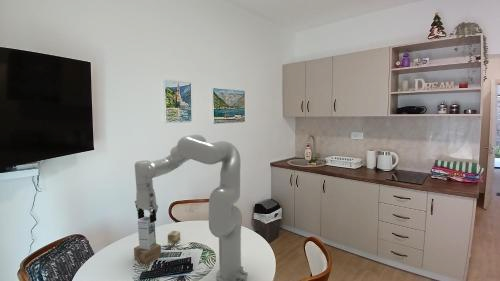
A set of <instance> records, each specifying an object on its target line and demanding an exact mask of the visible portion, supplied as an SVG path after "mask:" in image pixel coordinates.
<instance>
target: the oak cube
mask: <svg viewBox="0 0 500 281" xmlns="http://www.w3.org/2000/svg"><path fill="white" fill-rule="evenodd" d="M180 241H181V231H178V230H177V231H176V230H171V231H170V232H169V233H168V234H167V244H173V245H177V243H178V242H180Z"/></svg>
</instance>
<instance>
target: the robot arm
mask: <svg viewBox="0 0 500 281" xmlns="http://www.w3.org/2000/svg"><path fill="white" fill-rule="evenodd" d="M169 152H170V154H169V155H168V156H166V157H164V158H161V159H156V160H152V161H150V160H138V161H135V163H134V172H135V173H134V177H135V187H136V198H135V201H134V204H135V207H136V211H137V219H138V220H140V219H142V218H144V217H145V211H148V212H149V217H150V223H152V222H155V223H156V222H157V212H158V208H159V205H158V204H157V199H156V198H157V197H156V192H155V189H154V185H153V178H157V177H158V178H159V177H160V176H163V175H166V174H167V175H168V173H171V172H172V171H174V170H176V169H178V168H179V167H180V166H182V165H183V164H185V163H186V162H188V161H190V160H192V161H196V162H199V163H202V164H204V165H211V166H212V165H215V164H218V163H221V168H220V172H219V174H220V176H219V179H220V180H219V186H217V187H216V188H214V189H213V190H212V191H211V193H210V195H209V199H208V229H209V231H210V233H211V234H212V235H213V236H214V237H215V238H218V256H219V257H218V258H219V260H218V261H219V262H218V263H219V266H218V267H219V269H217V272H216V273H215V278H216V280H217V281H247V280H248V274H249V273H248V272H246V271H245V270H244V266H243V265H242V255H241V254H242V248H241V246H242V244H241V243H242V242H241V240H242V238H241V237H242V224H243V214H242V211H241V209H240V208H239V207H238V206H237V205H235V204H236V203H238V201H239V200H240V197H241V156H240V153H239V150H238V148H237V147H236V146H235V145H234V144H232V143H231V142H228V141H226V140H225V141H224V140H222V141H220V140H219V141H215V142H211V143H208V142H207V140H206V138H205V137H204V136H202V135H200V134H192V135H185V136H182V137H181V138H180V139H178V142H177V145H174V146H173V147H172V148H171V149H170V151H169Z"/></svg>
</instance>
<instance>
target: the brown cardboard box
mask: <svg viewBox="0 0 500 281" xmlns="http://www.w3.org/2000/svg"><path fill="white" fill-rule="evenodd" d="M133 256H134V257H133V258H134V261H137V262H138V263H141V264H143V266H146V265H149V264H150V263H152V262H154V261H156V260H158V259H160V258H162V245H161V244H159V243H156V245H154V246H153V247H152V248H151V249H150V250H147V249H140V248H139V245H137V246H135V247H133Z"/></svg>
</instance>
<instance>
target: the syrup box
mask: <svg viewBox="0 0 500 281" xmlns="http://www.w3.org/2000/svg"><path fill="white" fill-rule="evenodd" d="M137 231H138V232H137V233H138V244H139V245H138V246H139V248H140V249H147V250H150V249H151V248H152V247H153V246H154V245H156V244H157V238H156V221H155V222H152V223H150V215H148V216H144V218H141V219H138V220H137Z"/></svg>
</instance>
